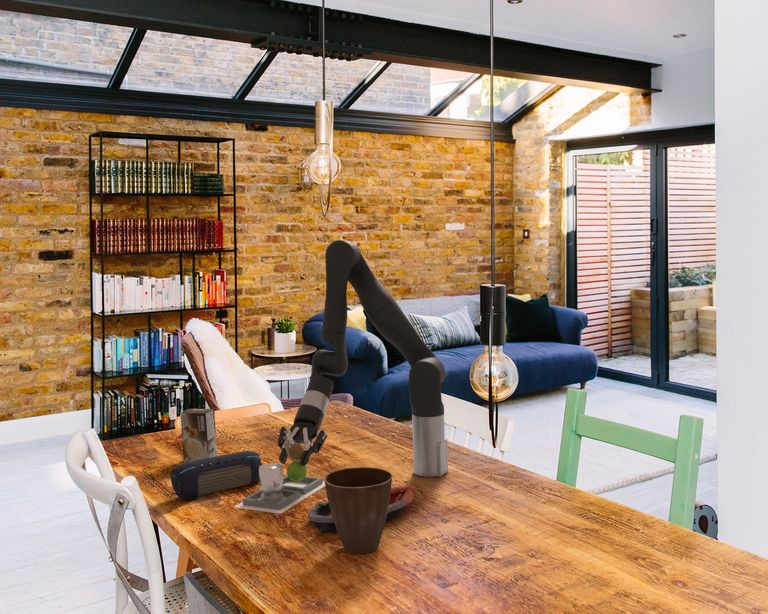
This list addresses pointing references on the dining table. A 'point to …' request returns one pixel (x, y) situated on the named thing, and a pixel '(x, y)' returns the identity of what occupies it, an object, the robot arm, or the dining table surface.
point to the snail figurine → (295, 462)
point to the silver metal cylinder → (271, 482)
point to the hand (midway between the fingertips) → (292, 463)
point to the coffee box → (198, 434)
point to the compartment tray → (292, 495)
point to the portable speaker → (215, 474)
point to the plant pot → (359, 506)
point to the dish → (397, 507)
